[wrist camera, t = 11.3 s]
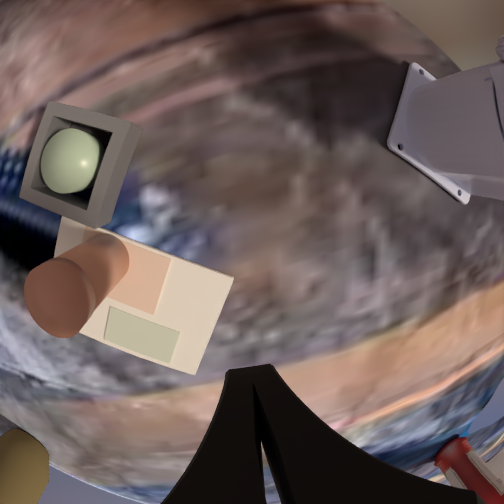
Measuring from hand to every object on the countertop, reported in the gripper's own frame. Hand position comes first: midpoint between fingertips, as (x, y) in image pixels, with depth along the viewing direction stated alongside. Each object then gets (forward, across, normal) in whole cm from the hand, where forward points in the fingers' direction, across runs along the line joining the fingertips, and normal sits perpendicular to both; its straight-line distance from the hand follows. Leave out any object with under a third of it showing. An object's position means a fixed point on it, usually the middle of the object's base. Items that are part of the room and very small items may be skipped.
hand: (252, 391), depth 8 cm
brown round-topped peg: (+10, +8, -2) cm, 13 cm away
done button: (+10, +8, -9) cm, 15 cm away
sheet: (+10, +7, 0) cm, 13 cm away
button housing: (+10, +8, -9) cm, 16 cm away
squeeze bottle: (+11, +28, +19) cm, 36 cm away
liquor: (+11, -30, +35) cm, 47 cm away
